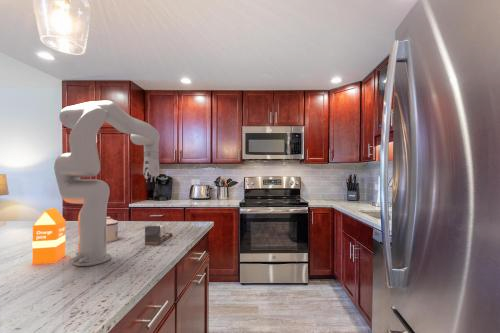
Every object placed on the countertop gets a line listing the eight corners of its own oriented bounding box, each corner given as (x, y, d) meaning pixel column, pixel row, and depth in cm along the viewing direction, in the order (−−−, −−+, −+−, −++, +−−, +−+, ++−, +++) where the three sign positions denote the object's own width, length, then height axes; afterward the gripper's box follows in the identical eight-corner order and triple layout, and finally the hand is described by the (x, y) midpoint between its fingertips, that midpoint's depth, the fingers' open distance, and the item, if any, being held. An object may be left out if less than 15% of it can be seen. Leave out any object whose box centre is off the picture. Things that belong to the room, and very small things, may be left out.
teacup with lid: (120, 240, 131) (120, 217, 131) (99, 243, 125) (99, 219, 125) (114, 235, 140) (114, 214, 140) (94, 238, 134) (95, 216, 134)
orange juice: (31, 264, 98) (32, 211, 98) (43, 256, 106) (44, 207, 106) (56, 262, 100) (56, 210, 100) (65, 255, 108) (66, 207, 109)
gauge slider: (161, 238, 126) (161, 226, 127) (150, 238, 127) (150, 226, 127) (166, 235, 132) (166, 223, 133) (156, 235, 133) (156, 223, 133)
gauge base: (157, 245, 122) (157, 227, 122) (144, 245, 122) (145, 227, 122) (172, 235, 140) (172, 219, 140) (161, 235, 140) (161, 219, 140)
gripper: (150, 154, 133) (150, 190, 133) (164, 156, 149) (163, 188, 149) (136, 154, 134) (136, 190, 134) (151, 156, 150) (151, 188, 149)
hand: (151, 189), depth 141 cm, fingers closed
